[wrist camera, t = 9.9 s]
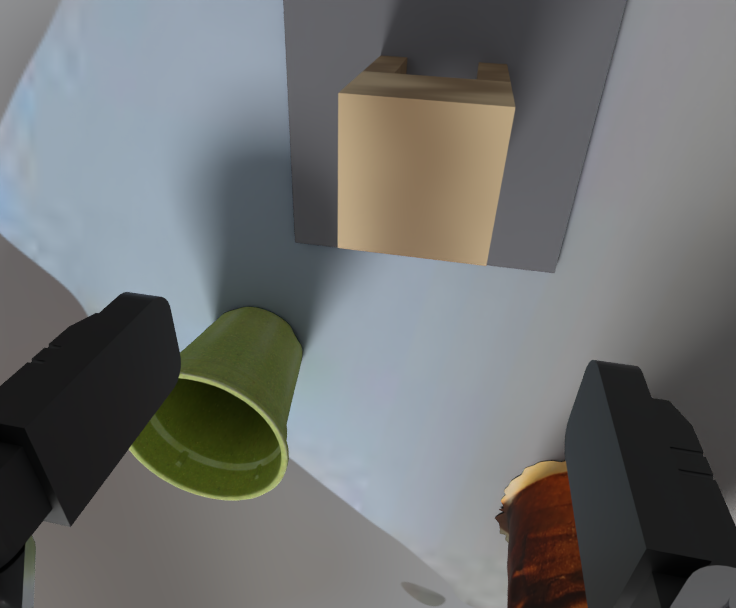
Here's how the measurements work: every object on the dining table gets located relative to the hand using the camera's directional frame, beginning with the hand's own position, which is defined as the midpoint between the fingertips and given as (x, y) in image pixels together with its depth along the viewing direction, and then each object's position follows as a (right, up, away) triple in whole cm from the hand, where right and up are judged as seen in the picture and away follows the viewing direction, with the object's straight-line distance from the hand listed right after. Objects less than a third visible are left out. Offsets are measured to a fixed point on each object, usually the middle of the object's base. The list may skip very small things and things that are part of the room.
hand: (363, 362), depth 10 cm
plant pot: (-7, -1, +25) cm, 26 cm away
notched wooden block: (+3, +9, +14) cm, 17 cm away
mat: (+3, +10, +15) cm, 18 cm away
